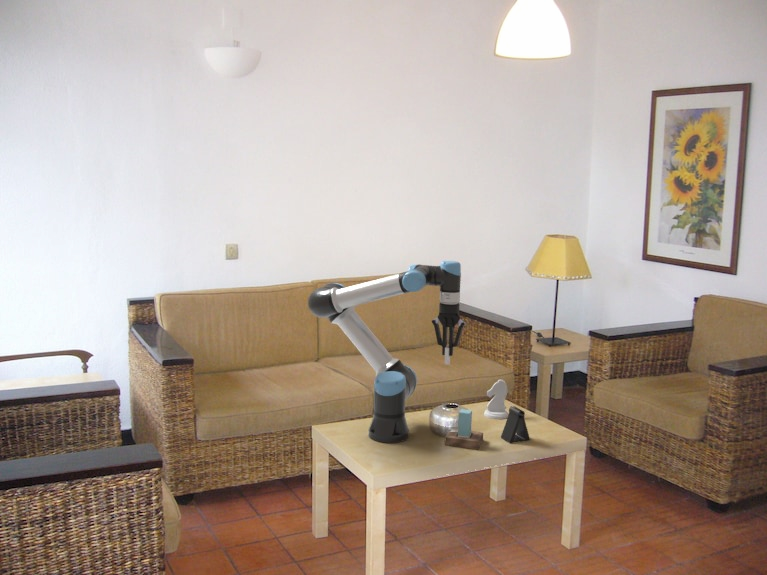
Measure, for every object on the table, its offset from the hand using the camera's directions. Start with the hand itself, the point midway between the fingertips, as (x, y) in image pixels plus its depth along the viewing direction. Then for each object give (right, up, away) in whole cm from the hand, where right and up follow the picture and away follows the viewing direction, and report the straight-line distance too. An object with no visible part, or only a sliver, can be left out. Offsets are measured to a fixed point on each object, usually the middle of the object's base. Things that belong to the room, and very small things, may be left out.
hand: (447, 363), depth 297 cm
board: (+6, -28, -8) cm, 30 cm away
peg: (+6, -28, -8) cm, 30 cm away
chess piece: (+22, -24, +24) cm, 40 cm away
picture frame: (+25, -28, -3) cm, 38 cm away
